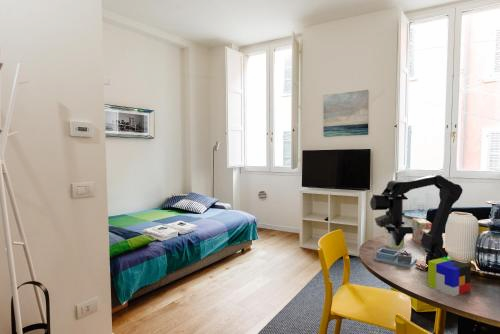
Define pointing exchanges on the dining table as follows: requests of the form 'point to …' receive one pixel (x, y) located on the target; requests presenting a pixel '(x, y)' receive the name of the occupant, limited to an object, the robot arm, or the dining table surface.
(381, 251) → the chassis
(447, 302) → the dining table surface
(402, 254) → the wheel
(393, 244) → the engine block
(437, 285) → the puzzle toy
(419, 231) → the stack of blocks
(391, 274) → the dining table surface
